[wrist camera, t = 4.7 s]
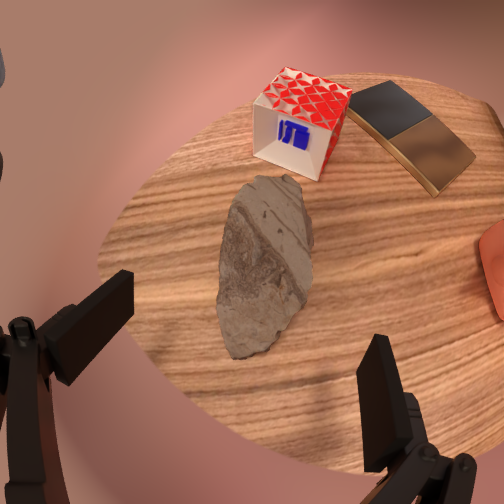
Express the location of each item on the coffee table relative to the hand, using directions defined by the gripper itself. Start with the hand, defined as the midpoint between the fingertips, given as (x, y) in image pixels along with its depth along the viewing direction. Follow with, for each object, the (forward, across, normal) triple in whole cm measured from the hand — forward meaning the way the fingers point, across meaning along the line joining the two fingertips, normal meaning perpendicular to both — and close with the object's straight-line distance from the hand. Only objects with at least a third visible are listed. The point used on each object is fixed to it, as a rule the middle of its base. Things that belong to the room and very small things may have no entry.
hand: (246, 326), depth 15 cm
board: (+30, +15, +14) cm, 37 cm away
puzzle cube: (+24, 0, +8) cm, 26 cm away
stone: (+13, 0, -4) cm, 13 cm away
